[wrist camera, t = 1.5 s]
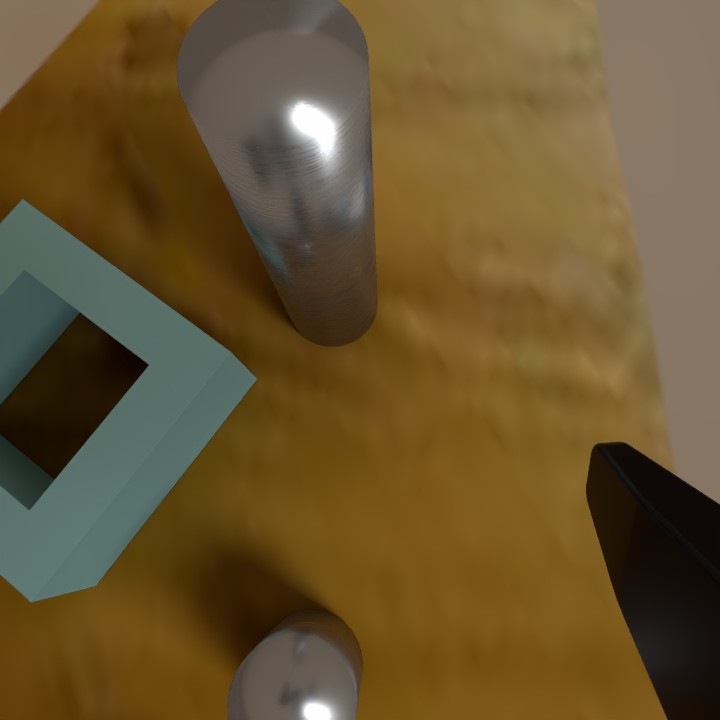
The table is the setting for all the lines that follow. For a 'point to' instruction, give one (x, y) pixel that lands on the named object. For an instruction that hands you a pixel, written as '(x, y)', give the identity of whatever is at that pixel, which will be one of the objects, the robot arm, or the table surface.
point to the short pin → (300, 672)
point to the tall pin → (293, 149)
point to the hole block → (119, 429)
